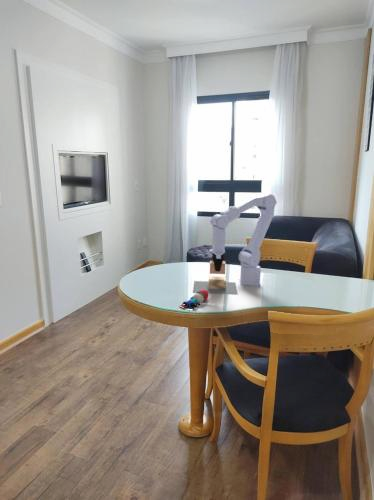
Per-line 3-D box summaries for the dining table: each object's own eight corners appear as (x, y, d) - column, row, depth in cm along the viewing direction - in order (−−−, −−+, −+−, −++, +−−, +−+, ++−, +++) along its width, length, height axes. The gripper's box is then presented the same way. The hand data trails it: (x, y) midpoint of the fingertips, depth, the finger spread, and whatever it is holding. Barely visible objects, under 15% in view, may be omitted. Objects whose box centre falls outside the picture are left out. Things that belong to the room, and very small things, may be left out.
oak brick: (225, 284, 172) (225, 276, 171) (225, 289, 166) (226, 281, 165) (208, 284, 172) (208, 276, 171) (208, 288, 167) (208, 280, 166)
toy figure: (192, 315, 143) (214, 299, 153) (190, 304, 141) (212, 288, 152) (178, 311, 148) (200, 296, 158) (176, 301, 146) (198, 285, 157)
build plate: (235, 283, 176) (235, 282, 176) (237, 295, 160) (237, 294, 160) (194, 281, 177) (194, 281, 177) (192, 293, 161) (192, 292, 161)
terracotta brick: (224, 271, 169) (225, 261, 168) (225, 274, 165) (225, 263, 164) (209, 270, 170) (210, 260, 168) (209, 273, 166) (210, 263, 165)
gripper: (210, 237, 171) (209, 264, 174) (209, 244, 157) (208, 274, 160) (224, 237, 171) (223, 265, 174) (226, 244, 157) (224, 274, 160)
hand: (217, 269), depth 167 cm, fingers closed on terracotta brick, 4 cm apart
